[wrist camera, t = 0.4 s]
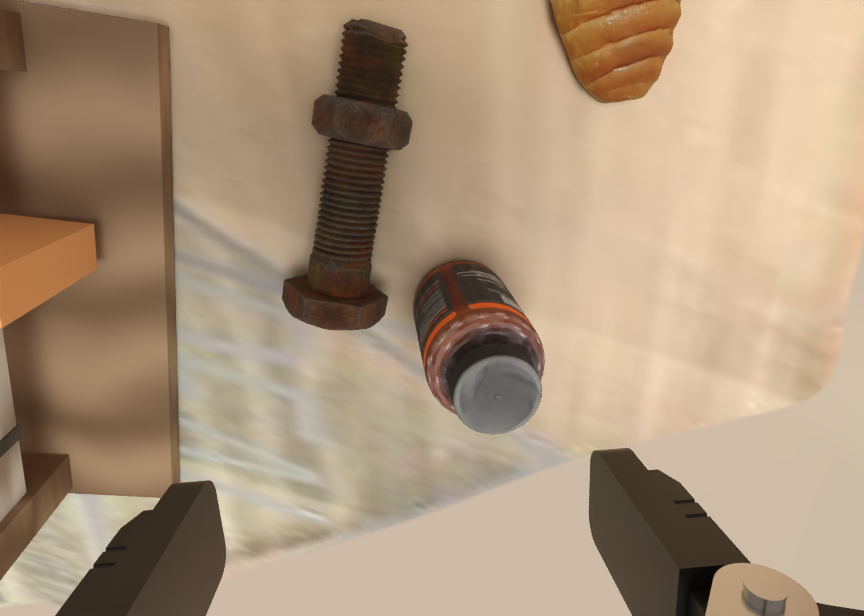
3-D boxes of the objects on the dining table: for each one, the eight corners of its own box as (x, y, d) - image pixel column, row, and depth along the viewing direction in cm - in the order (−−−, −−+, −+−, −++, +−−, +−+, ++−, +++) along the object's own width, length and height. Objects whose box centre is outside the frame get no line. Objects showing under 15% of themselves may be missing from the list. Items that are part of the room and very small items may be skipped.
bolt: (390, 39, 30) (349, 294, 35) (304, 12, 27) (271, 296, 32) (453, 40, 26) (396, 331, 30) (360, 8, 23) (313, 337, 27)
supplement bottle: (410, 345, 35) (424, 455, 24) (414, 256, 33) (432, 333, 22) (501, 347, 35) (553, 454, 25) (512, 259, 33) (573, 335, 23)
